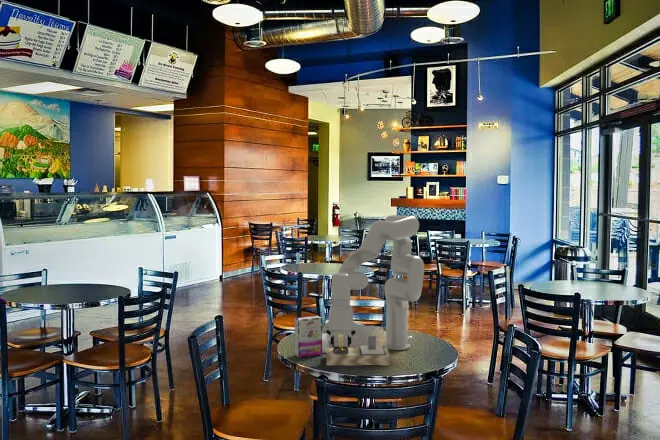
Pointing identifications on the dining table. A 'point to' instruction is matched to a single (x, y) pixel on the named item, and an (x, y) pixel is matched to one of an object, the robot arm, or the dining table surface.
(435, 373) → the dining table surface
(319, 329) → the candy bar box
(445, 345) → the dining table surface
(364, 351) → the cover
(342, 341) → the t key
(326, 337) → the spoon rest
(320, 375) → the dining table surface
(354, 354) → the beige flat block
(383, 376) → the dining table surface
